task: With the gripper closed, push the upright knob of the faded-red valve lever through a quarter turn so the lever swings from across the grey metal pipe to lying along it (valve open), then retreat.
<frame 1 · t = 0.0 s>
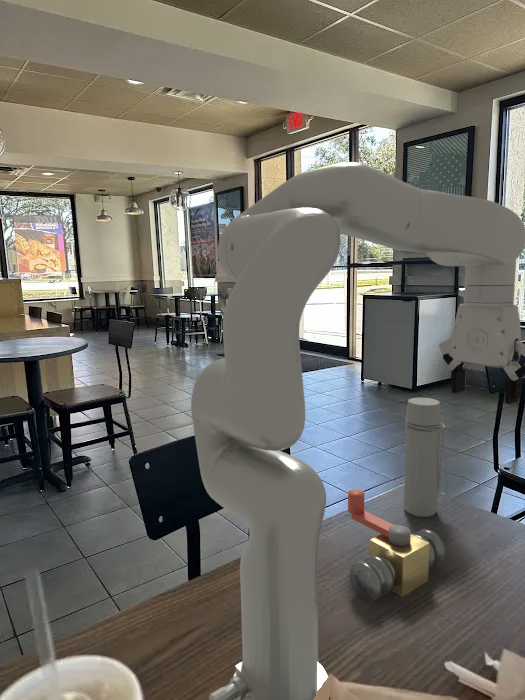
hand: (483, 396, 86), 31 cm above the table, fingers open, 9 cm apart
water bottle: (424, 512, 112), on the table
lever: (377, 515, 90), point 10 cm above the table, hinge at 90.0°
valve: (398, 578, 88), on the table
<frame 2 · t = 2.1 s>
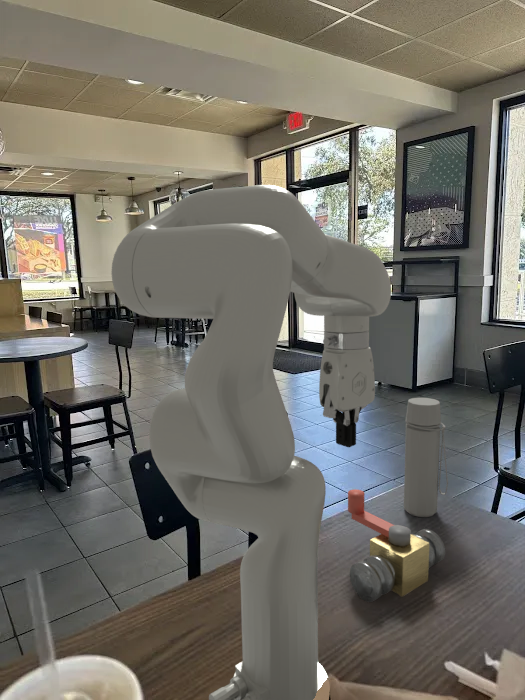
hand: (345, 444, 89), 23 cm above the table, fingers closed
nothing on the table moved.
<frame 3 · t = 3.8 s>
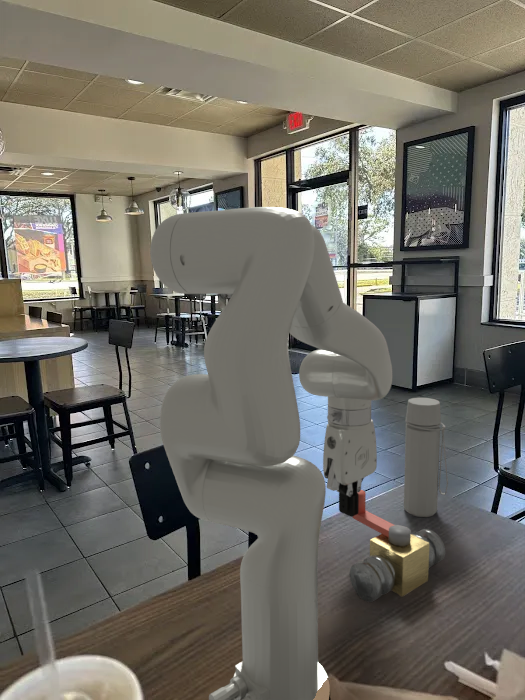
hand: (348, 512, 92), 10 cm above the table, fingers closed
lever: (378, 515, 90), point 10 cm above the table, hinge at 88.3°, touching gripper
everything else where it was.
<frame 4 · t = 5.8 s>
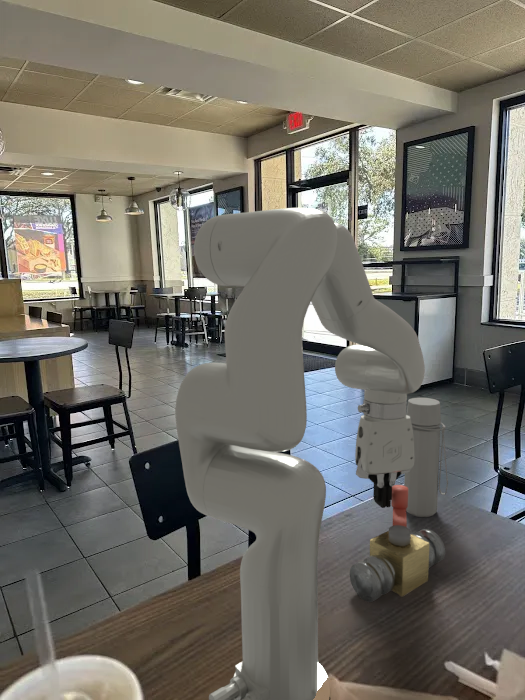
hand: (382, 504, 95), 10 cm above the table, fingers closed
lever: (399, 513, 91), point 10 cm above the table, hinge at 38.3°, touching gripper
everything else where it was.
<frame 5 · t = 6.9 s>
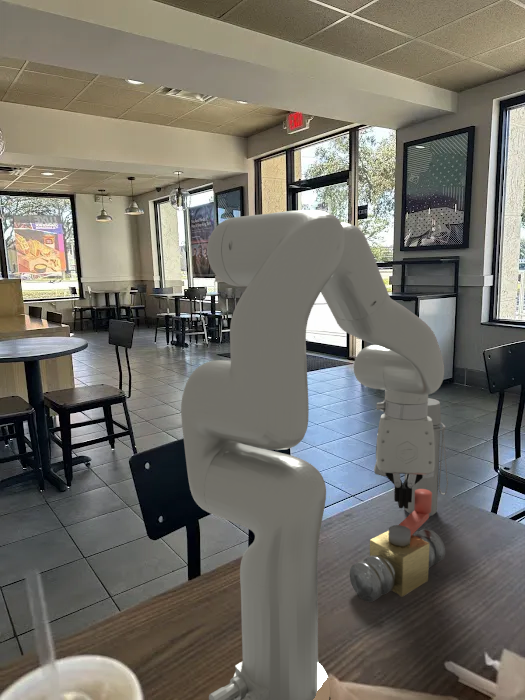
hand: (402, 505, 95), 9 cm above the table, fingers closed
lever: (411, 515, 90), point 10 cm above the table, hinge at 13.8°, touching gripper
everything else where it was.
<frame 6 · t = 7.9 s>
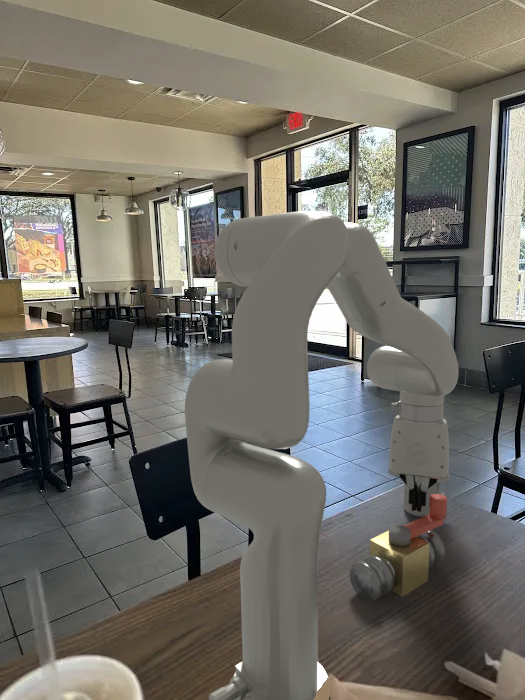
hand: (417, 508, 93), 9 cm above the table, fingers closed
lever: (418, 518, 89), point 10 cm above the table, hinge at -3.4°, touching gripper
everything else where it was.
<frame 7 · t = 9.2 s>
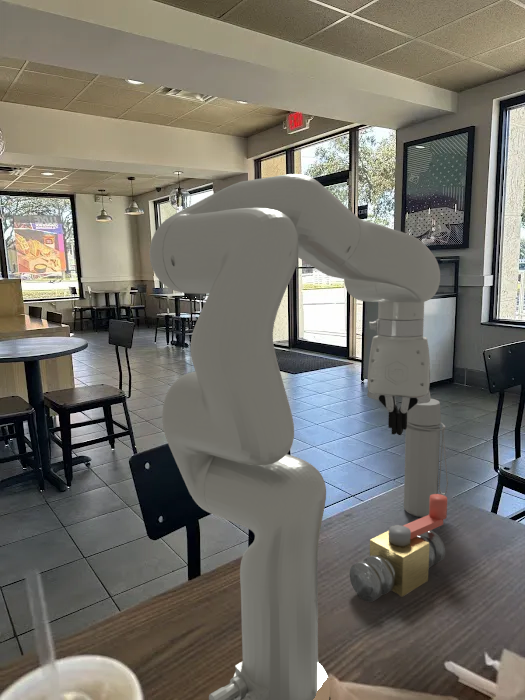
hand: (397, 432, 90), 25 cm above the table, fingers closed
lever: (418, 518, 89), point 10 cm above the table, hinge at -3.6°
everything else where it was.
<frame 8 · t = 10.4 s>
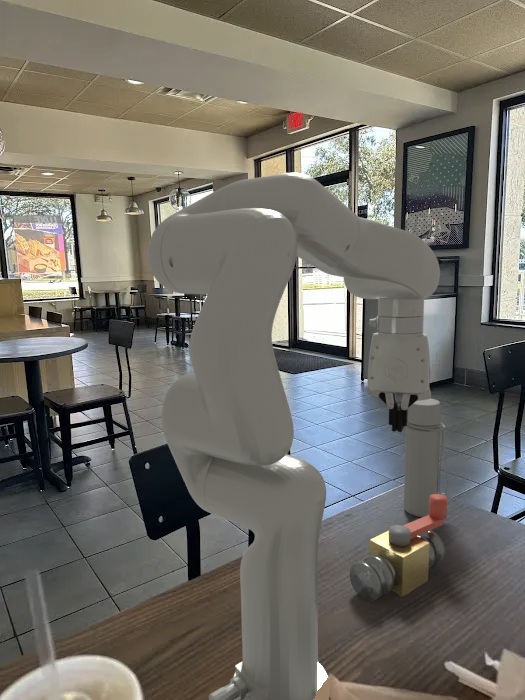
hand: (397, 429, 90), 25 cm above the table, fingers closed
nothing on the table moved.
at the end: lever at -4° (first picture: +90°) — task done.
